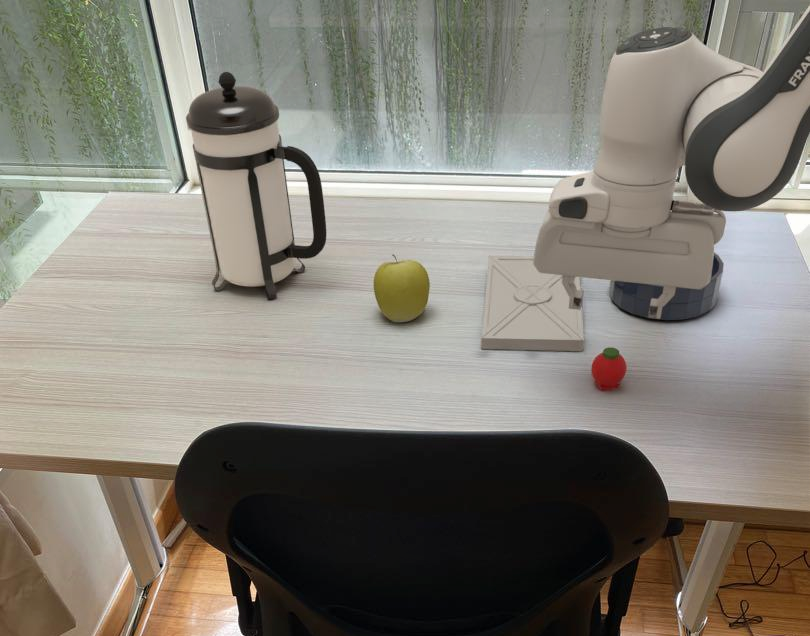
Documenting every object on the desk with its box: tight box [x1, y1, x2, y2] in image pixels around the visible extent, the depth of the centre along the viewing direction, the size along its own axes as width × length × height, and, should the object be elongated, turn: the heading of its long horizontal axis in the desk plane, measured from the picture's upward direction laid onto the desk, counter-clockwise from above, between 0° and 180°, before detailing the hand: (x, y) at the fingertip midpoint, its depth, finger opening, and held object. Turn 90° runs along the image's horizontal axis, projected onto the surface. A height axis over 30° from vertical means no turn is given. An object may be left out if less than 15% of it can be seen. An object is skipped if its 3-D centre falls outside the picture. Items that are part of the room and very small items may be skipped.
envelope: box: [480, 255, 584, 352], centre depth 127 cm, size 24×2×14 cm
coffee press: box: [185, 71, 327, 300], centre depth 128 cm, size 17×16×30 cm
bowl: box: [608, 252, 725, 321], centre depth 127 cm, size 15×15×6 cm
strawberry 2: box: [590, 347, 628, 392], centre depth 111 cm, size 4×4×5 cm
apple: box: [373, 254, 431, 323], centre depth 125 cm, size 8×8×10 cm
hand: (614, 311), depth 105 cm, fingers open, 8 cm apart
